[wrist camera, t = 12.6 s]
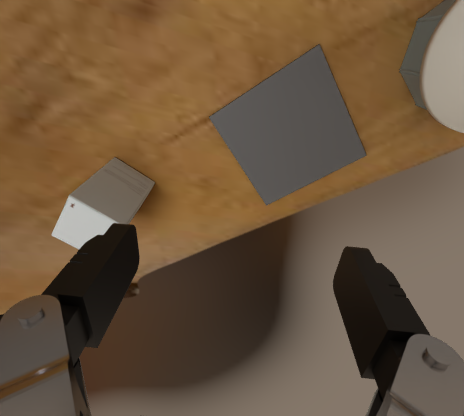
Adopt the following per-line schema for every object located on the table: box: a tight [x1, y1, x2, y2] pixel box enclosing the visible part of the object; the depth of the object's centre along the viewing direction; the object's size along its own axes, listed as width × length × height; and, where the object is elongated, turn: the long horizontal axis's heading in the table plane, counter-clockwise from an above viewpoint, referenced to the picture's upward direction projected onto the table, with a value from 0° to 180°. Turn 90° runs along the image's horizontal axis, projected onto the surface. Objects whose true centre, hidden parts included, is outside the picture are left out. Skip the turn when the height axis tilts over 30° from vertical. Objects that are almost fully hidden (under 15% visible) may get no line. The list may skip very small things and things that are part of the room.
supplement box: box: [52, 157, 155, 249], centre depth 40 cm, size 7×7×13 cm
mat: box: [209, 44, 366, 205], centre depth 39 cm, size 16×16×1 cm
